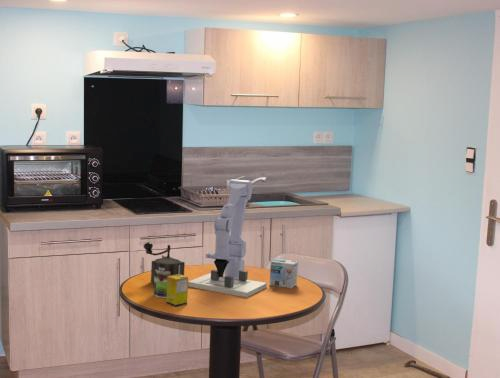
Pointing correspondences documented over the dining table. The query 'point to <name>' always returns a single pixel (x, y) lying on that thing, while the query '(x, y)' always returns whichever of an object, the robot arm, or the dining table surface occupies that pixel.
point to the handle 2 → (243, 275)
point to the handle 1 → (228, 281)
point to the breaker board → (238, 287)
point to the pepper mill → (148, 248)
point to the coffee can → (164, 275)
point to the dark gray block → (214, 275)
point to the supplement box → (177, 290)
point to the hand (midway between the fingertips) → (220, 276)
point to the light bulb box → (283, 273)
